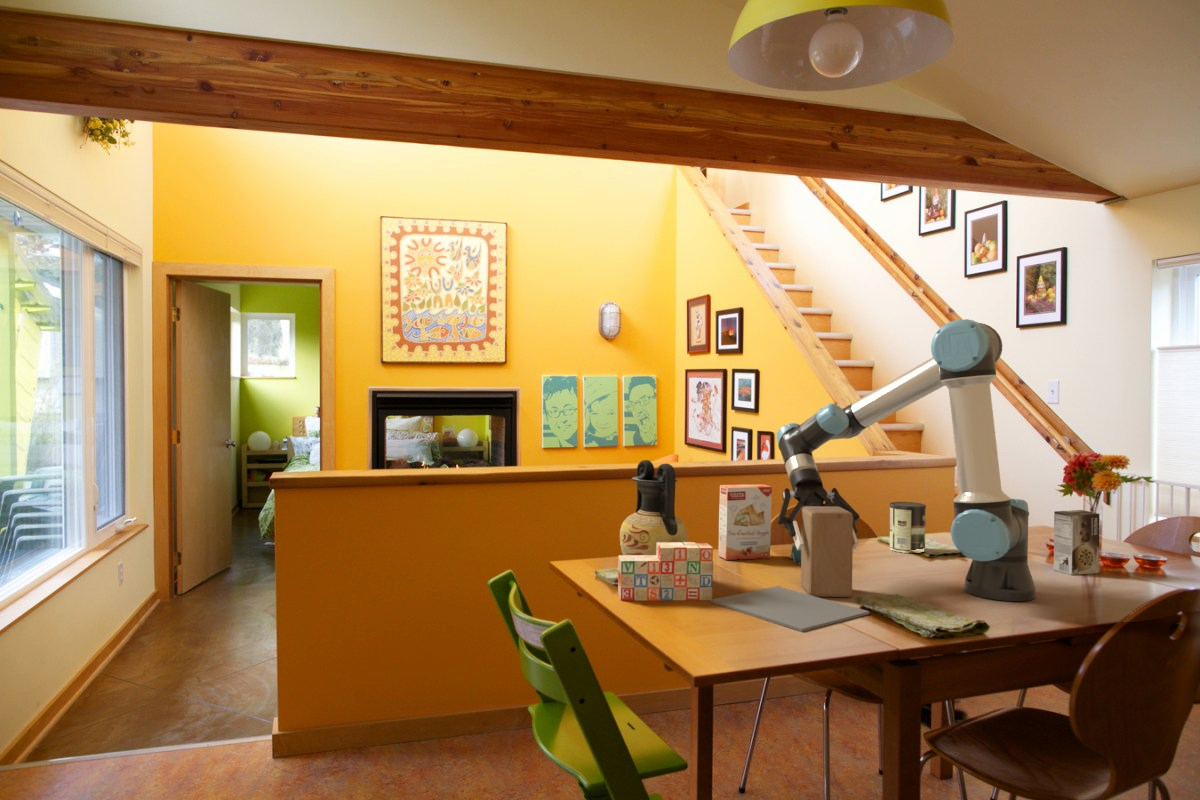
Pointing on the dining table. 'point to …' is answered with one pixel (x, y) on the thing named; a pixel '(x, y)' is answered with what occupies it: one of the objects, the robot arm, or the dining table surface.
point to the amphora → (652, 512)
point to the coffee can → (907, 526)
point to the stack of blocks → (667, 573)
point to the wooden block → (827, 551)
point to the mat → (790, 608)
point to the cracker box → (744, 521)
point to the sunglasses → (796, 554)
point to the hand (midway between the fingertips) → (827, 546)
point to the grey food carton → (1076, 542)
